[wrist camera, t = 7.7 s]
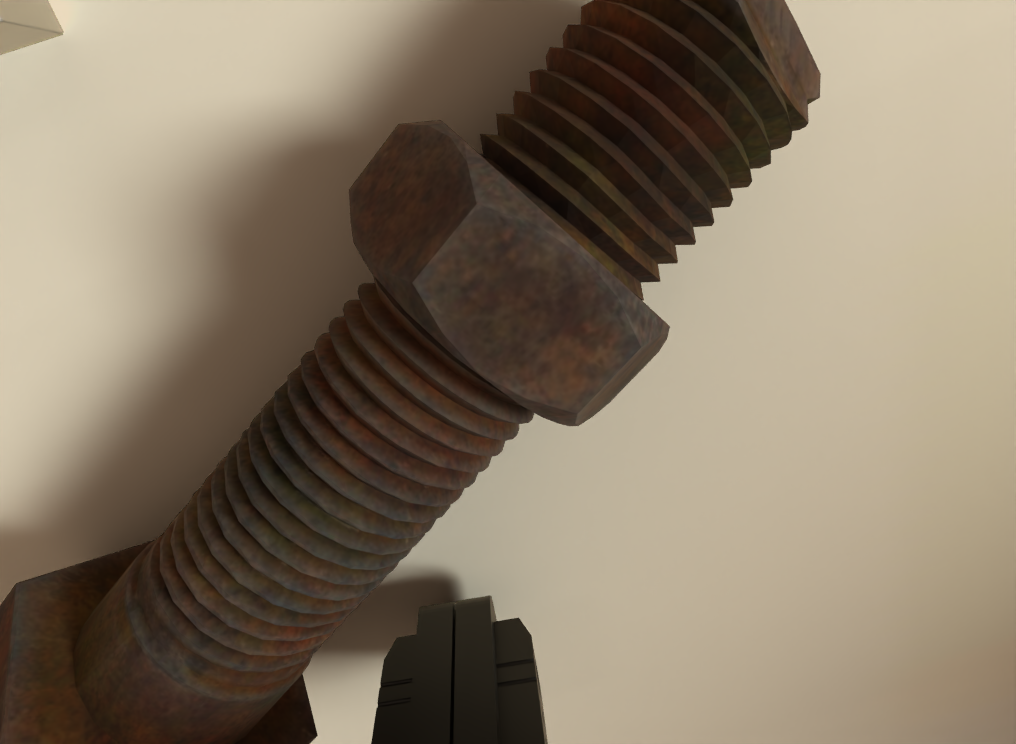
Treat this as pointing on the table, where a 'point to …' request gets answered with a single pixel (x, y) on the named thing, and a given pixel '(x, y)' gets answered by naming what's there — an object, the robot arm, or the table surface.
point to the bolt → (418, 374)
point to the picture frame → (26, 23)
